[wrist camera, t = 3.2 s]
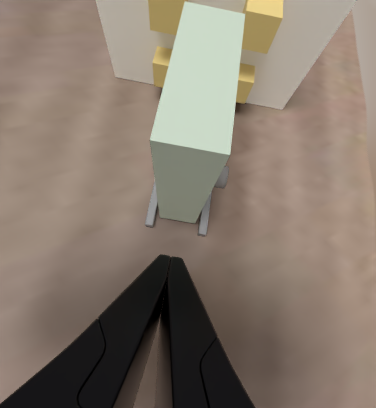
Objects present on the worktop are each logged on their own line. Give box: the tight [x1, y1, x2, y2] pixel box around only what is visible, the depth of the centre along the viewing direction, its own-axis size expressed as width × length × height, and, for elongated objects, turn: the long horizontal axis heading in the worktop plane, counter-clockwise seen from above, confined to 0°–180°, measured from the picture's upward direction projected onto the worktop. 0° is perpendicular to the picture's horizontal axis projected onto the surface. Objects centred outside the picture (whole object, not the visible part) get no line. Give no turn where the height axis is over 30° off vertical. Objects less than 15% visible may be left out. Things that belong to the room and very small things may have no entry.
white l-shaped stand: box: [96, 0, 357, 236], centre depth 18 cm, size 27×18×11 cm, turn 171°
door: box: [150, 1, 245, 223], centre depth 15 cm, size 8×4×11 cm, turn 171°
